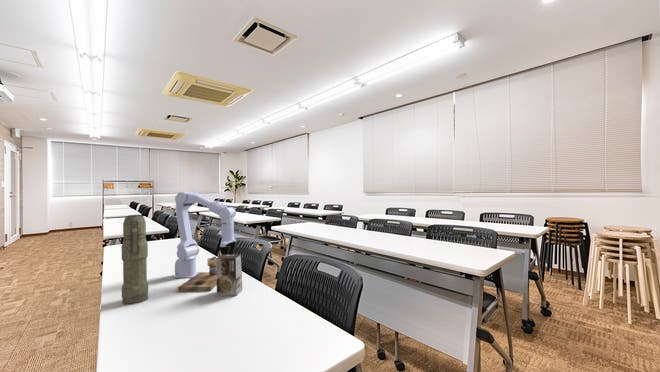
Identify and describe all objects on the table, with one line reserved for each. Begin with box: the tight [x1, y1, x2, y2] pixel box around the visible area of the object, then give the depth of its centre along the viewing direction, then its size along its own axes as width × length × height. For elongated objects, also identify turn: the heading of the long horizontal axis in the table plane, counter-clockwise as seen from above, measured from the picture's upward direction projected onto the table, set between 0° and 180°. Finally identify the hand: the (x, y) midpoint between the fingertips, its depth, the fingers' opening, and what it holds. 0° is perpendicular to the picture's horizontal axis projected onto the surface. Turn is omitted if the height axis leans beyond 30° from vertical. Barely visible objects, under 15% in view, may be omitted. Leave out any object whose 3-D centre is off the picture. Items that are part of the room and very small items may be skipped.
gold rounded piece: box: [206, 256, 217, 276], centre depth 137 cm, size 5×5×9 cm
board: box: [177, 271, 217, 293], centre depth 132 cm, size 14×21×2 cm, turn 1°
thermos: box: [120, 214, 149, 306], centre depth 112 cm, size 9×12×35 cm
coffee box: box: [216, 254, 243, 297], centre depth 119 cm, size 9×6×16 cm
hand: (228, 258), depth 138 cm, fingers open, 7 cm apart
